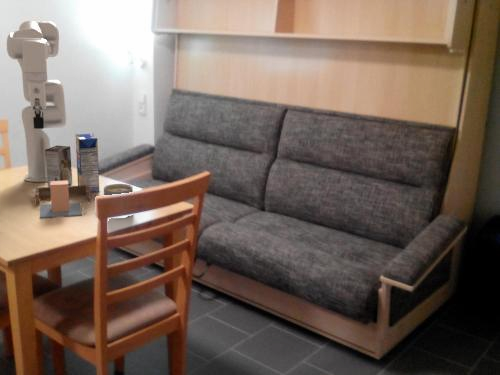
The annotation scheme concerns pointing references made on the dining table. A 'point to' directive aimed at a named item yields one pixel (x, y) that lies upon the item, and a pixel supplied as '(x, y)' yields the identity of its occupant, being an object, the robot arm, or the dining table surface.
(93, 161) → the beverage box
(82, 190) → the frame
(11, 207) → the dining table surface
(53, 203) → the block
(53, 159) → the coffee box
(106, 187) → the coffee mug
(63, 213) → the mat
